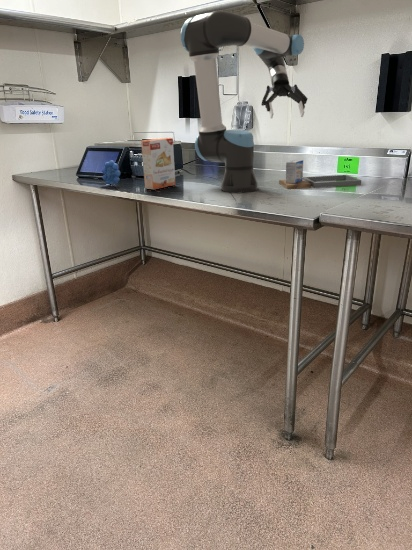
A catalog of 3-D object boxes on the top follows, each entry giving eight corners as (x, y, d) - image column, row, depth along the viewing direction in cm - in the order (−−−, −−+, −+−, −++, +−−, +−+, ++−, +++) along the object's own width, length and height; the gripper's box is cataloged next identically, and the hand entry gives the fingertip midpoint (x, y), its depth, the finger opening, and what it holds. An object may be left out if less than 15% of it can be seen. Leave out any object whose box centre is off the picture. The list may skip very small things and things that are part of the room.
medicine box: (295, 183, 171) (296, 162, 167) (285, 183, 173) (285, 162, 170) (302, 180, 176) (303, 160, 173) (293, 180, 179) (293, 159, 176)
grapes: (128, 185, 191) (125, 159, 187) (117, 188, 186) (114, 161, 182) (111, 184, 198) (108, 158, 193) (100, 186, 193) (96, 160, 188)
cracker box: (154, 191, 176) (149, 140, 168) (144, 190, 180) (139, 140, 172) (176, 186, 186) (173, 137, 178) (167, 184, 189) (163, 137, 181)
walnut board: (287, 189, 169) (287, 185, 168) (279, 183, 181) (279, 180, 180) (310, 187, 170) (311, 183, 169) (301, 182, 182) (301, 178, 181)
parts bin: (313, 187, 169) (314, 182, 168) (302, 181, 182) (302, 177, 182) (360, 185, 170) (361, 180, 169) (346, 179, 184) (346, 174, 183)
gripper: (304, 84, 190) (313, 120, 182) (251, 87, 188) (257, 123, 180) (308, 71, 183) (318, 107, 175) (253, 73, 181) (260, 110, 173)
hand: (287, 115), depth 178 cm, fingers open, 13 cm apart
